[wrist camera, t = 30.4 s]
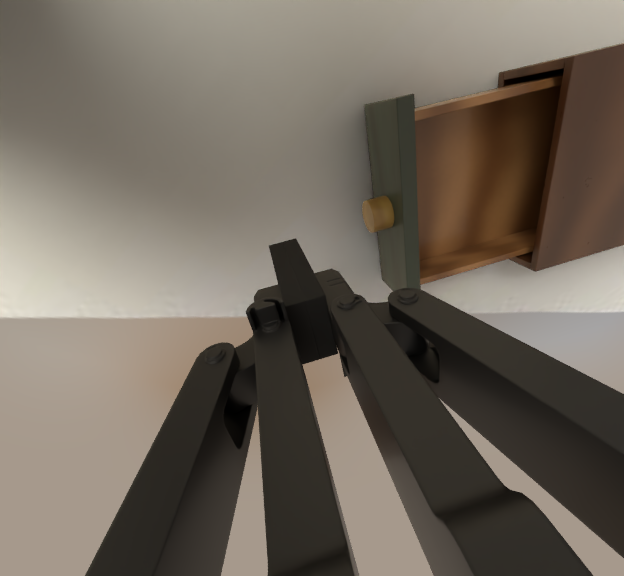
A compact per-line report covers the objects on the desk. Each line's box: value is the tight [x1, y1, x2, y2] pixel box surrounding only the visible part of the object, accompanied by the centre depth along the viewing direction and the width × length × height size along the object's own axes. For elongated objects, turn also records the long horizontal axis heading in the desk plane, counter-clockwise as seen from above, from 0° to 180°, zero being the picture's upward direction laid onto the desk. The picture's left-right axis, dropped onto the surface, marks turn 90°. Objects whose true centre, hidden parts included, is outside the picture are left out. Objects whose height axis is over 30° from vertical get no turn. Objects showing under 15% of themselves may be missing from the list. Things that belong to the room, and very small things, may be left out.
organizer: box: [498, 43, 624, 271], centre depth 22 cm, size 15×13×5 cm
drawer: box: [362, 72, 564, 291], centre depth 21 cm, size 17×13×5 cm
